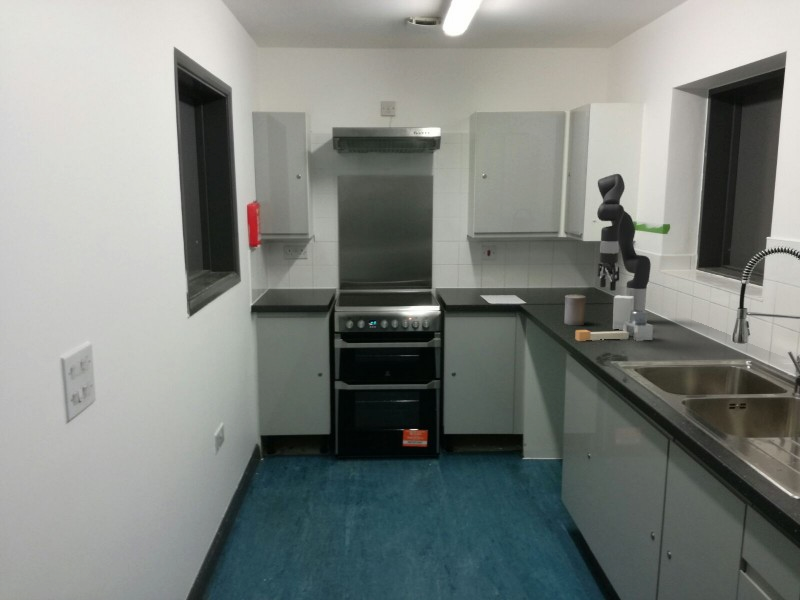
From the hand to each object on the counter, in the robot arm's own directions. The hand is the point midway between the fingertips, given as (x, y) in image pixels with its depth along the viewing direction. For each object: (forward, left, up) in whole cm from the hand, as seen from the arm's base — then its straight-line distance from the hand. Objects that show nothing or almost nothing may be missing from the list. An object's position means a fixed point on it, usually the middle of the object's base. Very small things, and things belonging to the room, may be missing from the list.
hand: (607, 288), depth 259 cm
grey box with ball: (+2, +14, -22) cm, 26 cm away
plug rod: (+2, -2, -22) cm, 22 cm away
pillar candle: (-30, 0, -22) cm, 38 cm away
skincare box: (-15, +17, -22) cm, 32 cm away
